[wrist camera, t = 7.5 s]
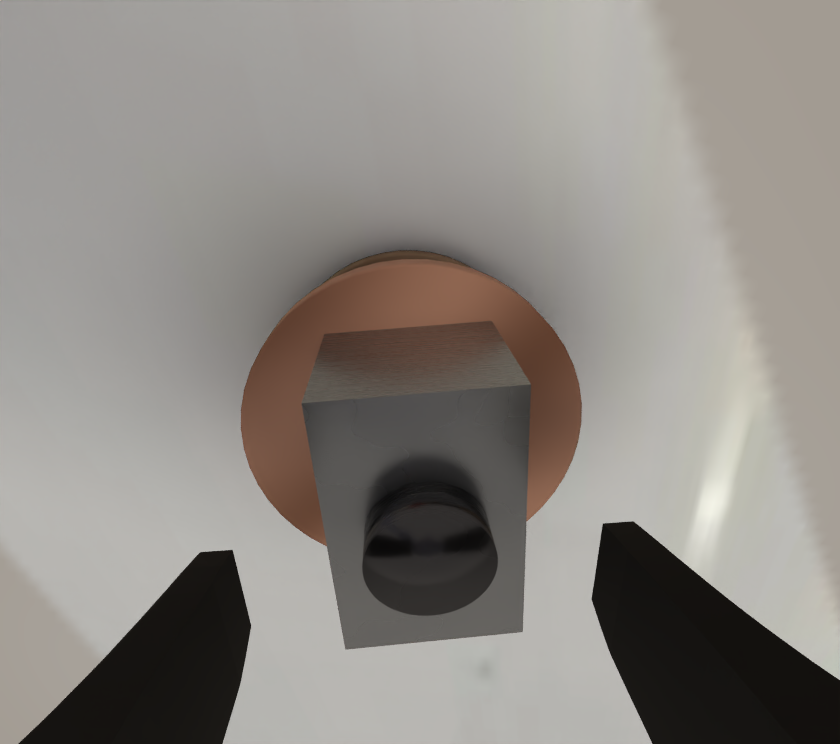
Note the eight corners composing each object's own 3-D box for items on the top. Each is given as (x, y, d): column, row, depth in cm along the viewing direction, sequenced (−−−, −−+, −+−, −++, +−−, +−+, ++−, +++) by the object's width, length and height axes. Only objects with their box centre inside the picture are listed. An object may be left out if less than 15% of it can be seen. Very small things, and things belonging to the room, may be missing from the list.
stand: (223, 381, 19) (172, 454, 15) (394, 171, 16) (398, 180, 12) (417, 513, 22) (425, 606, 18) (588, 355, 20) (649, 417, 15)
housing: (354, 536, 16) (342, 688, 12) (324, 333, 13) (293, 429, 9) (492, 524, 16) (533, 669, 12) (491, 320, 13) (545, 408, 9)
